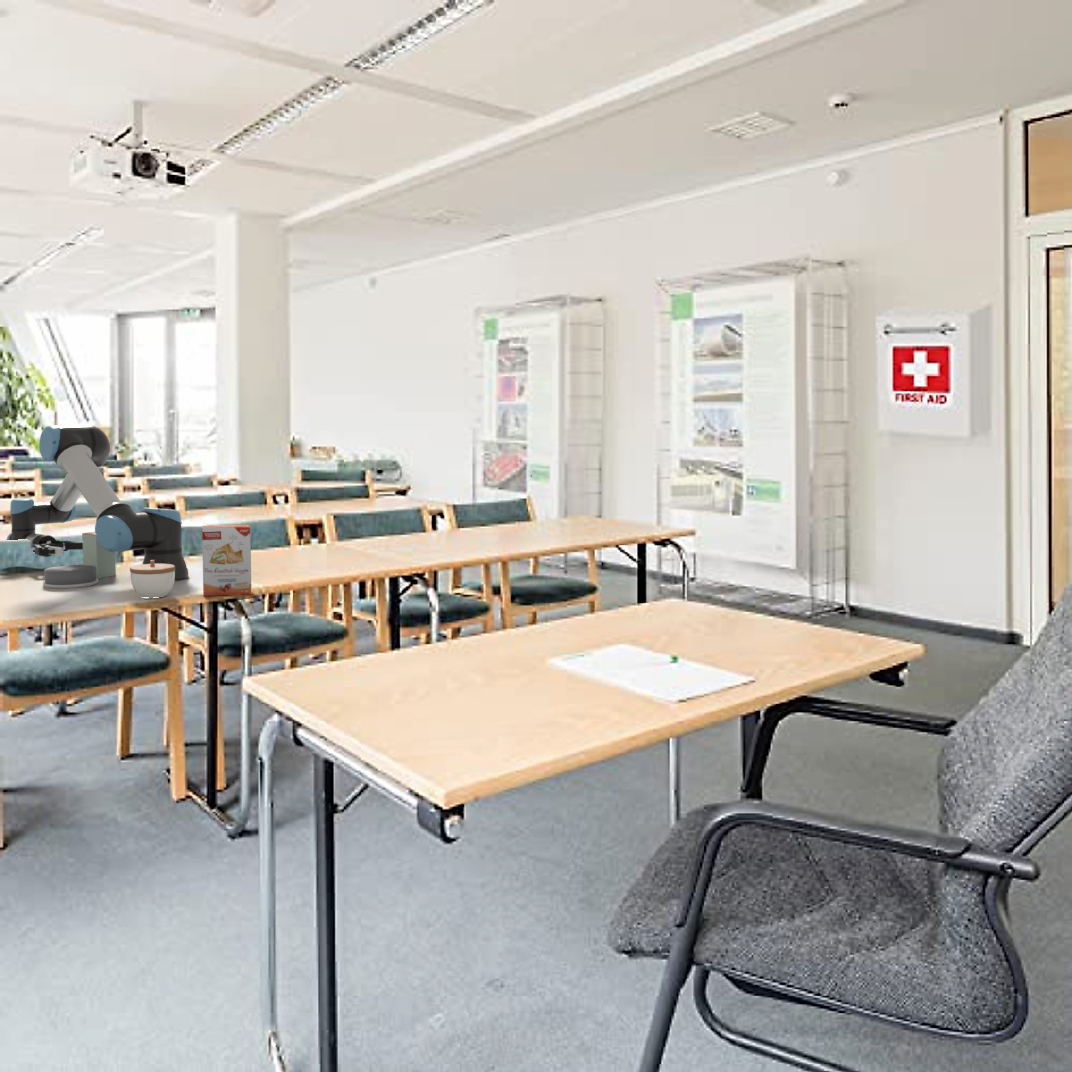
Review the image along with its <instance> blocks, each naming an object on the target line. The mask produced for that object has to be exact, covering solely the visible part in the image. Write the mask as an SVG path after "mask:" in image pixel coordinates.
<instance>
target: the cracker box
mask: <svg viewBox="0 0 1072 1072" xmlns="http://www.w3.org/2000/svg"><path fill="white" fill-rule="evenodd" d="M201 542H202V544H201V546H202V548H201V549H202V550H201V551H202V584H203V590H202V593H203V597H207V596H208V597H209V596H210V597H213V596H241V595H244V596H245V595H246V596H247V595H248V596H249V595H252V553H251V552H252V551H251V550H252V548H251V546H252V545H251V543H252V541H251V525H250V524H221V525H220V524H219V525H217V524H216V525H213V524H212V525H202V528H201Z"/></svg>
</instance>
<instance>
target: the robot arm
mask: <svg viewBox="0 0 1072 1072" xmlns="http://www.w3.org/2000/svg"><path fill="white" fill-rule="evenodd" d="M110 443H111V442H110V440H109V437H108V436H107V434H106V433H105V432H104V431H103V430H102V429H100V428H99V427H97V426H94V425H91V424H80V425H78V424H71V425H70V424H69V425H67V424H65V425H64V424H55V425H49V426H45V428H44V429H43V430H42V432H41V434H40V437H39V444H38V445H39V453H40V455H41V458H42V460H44V461H46V462H54V464H56V466H57V467H58V468H59V470H61V471H63V472H67V474H66V475H65V477H64V479H63V480H62V482H61V484H60V486H59V487H58V489H57V490H56V492H55V493H54V495H53V497H52V498H51V499H50V501H49V502H38V503H37V502H35V500H34V499H33V498H14V499H12V500H11V501H10V510H9V513H10V521H11V532H10V533H9V534H8V535H7V537H6V540H18V539H28V540H30V542H29V545H30V548H33V552H35V554H37V555H39V556H40V557H45V558H46V557H52V556H57V557H64V552H67V551H69V550H70V551H71V550H78V551H79V550H83V541H80V540H77V541H76V540H73V541H72V540H58V539H56V538H55V537H53V536H52V535H49V534H42V533H36V525H45V524H46V525H48V524H63V523H67V522H72V521H74V520H75V518H76V514H77V509H76V504H77V502H78V500H79V498H80V497H81V495H82V497H84V500H86V502H87V504H88V505H89V506H90V509H91V510H92V511H93V512H94V514H95V515H96V519H95V525H94V532H95V533H96V534H97V536H96V538H97V540H98V542H99V544H100V545H101V546H102V547H103V548H104V549H105V550H107V551H110V552H115V553H117V552H118V553H124V552H128V551H136V550H144V556H143V557H144V558H143V560H142V564H150V560H155V564H172V565H174V566H175V580H174V581H178V580H179V579H180V580H184V579H183V578H185V579H188V578H189V577H190V576H189V569H188V567H187V564H186V561H185V559H184V556H183V539H182V535H183V534H182V524H183V523H182V517H181V512H180V511H179V510H176V509H171V508H170V509H168V508H156V507H143V510H142V512H134V511H135V510H133V508H132V507H131V505H130V504H129V503H127V502H122V500H120V499H119V497H118V496H117V494H116V492H115V491H114V489H113V488H112V486H111V485H110V484H109V482H108V481H107V480H106V477H105V476H104V475H103V474H102V472H101V470H100V469H99V468H102V467H103V466H104V465H105V464H106V462H107V460H108V459H109V455H110V452H111V444H110ZM6 540H5V541H6ZM39 556H38V557H39Z"/></svg>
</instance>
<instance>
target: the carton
mask: <svg viewBox="0 0 1072 1072" xmlns="http://www.w3.org/2000/svg"><path fill="white" fill-rule="evenodd" d="M81 535H82V536H81V537H82V538H81V539H82V541H83V549H82V558H83V559H82V560H83V565H89V566H95V567H96V578H97V579H99V578H106V577H112V576H113V575H114V576H116V575H117V573H116V572H117V571H116V568H117V567H116V552H110V551H107V550H105V549H104V548H103V547H102V546H101V545H100V544H99V542H98V540H97V538H96V536H97V534H96V533H95V531H92V532H91V531H90V532H83V533H81Z"/></svg>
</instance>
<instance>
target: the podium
mask: <svg viewBox="0 0 1072 1072" xmlns="http://www.w3.org/2000/svg"><path fill="white" fill-rule="evenodd" d="M43 573H44V575H43V576H44V581H43V582H42V587H44V588H46V587H49V588H48V589H77V587H79V588H86V587H92V586H95V585H98V584H99V578H96V567H95V566H89V565H84V564H71V565H69V564H68V565H59V566H52V567H47V568H45V569H44V570H43Z"/></svg>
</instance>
